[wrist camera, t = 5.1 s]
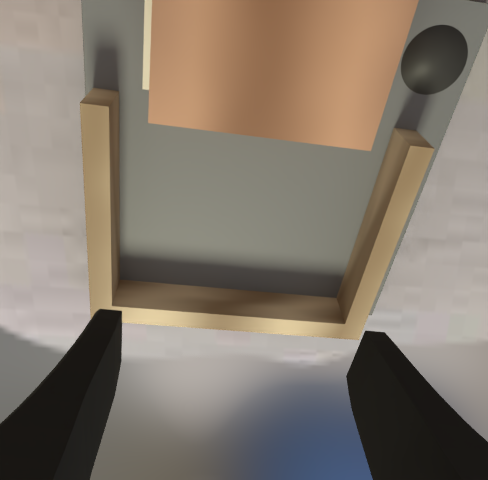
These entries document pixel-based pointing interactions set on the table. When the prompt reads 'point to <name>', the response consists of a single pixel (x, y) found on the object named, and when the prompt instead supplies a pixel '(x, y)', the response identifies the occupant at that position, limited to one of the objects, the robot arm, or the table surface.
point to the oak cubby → (231, 300)
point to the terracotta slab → (277, 67)
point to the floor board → (261, 164)
